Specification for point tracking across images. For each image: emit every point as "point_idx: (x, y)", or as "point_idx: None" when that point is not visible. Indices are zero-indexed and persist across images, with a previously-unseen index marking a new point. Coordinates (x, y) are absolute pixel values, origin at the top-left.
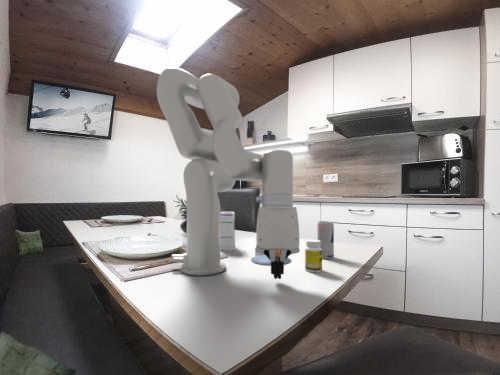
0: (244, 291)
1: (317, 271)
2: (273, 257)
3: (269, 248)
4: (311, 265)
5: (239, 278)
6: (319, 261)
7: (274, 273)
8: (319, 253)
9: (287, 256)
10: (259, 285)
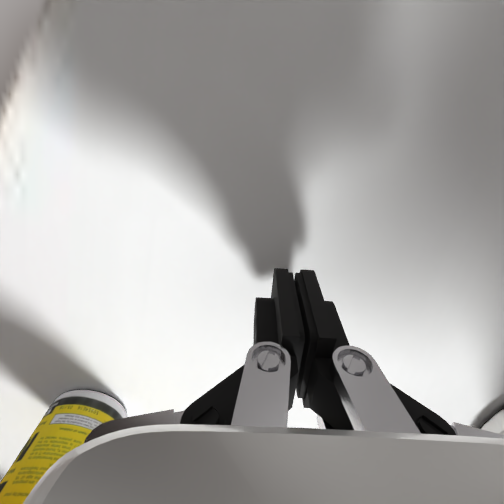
0: (496, 175)
1: (72, 391)
2: (353, 376)
3: (480, 443)
4: (87, 421)
5: (451, 341)
6: (34, 440)
7: (317, 290)
8: (1, 490)
9: (222, 387)
10: (384, 255)
